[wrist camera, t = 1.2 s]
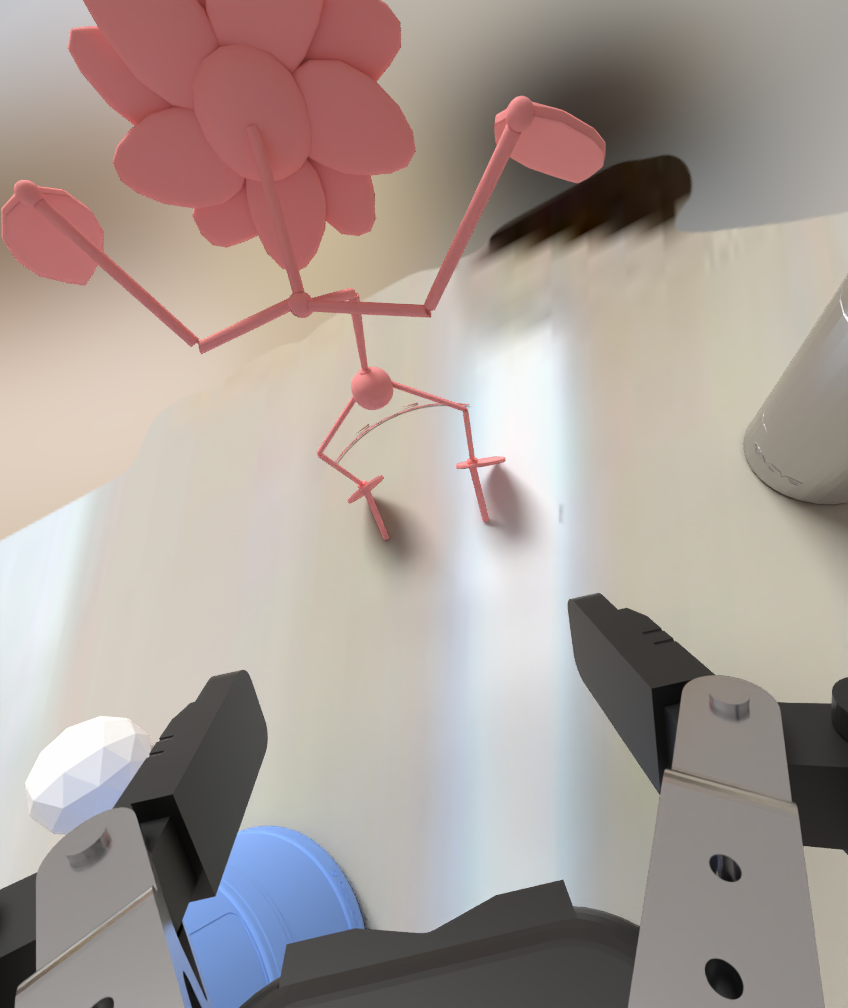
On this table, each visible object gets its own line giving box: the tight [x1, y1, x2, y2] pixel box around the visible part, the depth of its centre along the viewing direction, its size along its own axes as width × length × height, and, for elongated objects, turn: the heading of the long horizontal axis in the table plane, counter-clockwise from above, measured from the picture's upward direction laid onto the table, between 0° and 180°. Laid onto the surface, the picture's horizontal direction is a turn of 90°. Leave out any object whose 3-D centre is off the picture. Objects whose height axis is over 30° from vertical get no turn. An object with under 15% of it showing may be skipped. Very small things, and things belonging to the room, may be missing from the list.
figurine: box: [1, 0, 606, 540], centre depth 28 cm, size 15×26×35 cm, turn 95°
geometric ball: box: [25, 716, 151, 835], centre depth 35 cm, size 8×8×8 cm
